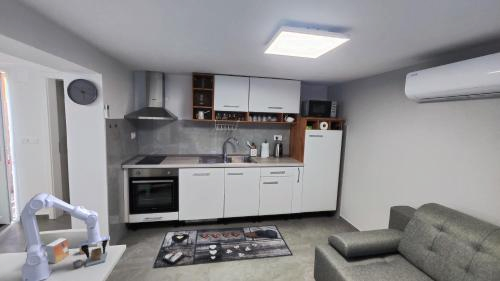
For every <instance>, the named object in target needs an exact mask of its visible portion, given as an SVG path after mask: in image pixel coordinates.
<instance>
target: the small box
mask: <svg viewBox="0 0 500 281" xmlns="http://www.w3.org/2000/svg"><path fill="white" fill-rule="evenodd" d="M45 246H46V247H47V252H46V256H47V259H48V263H52V264H57V263H59V262H60V261H62V260H63V259H64V258H66V257H68V256H70V251H69V244H68V239H67V238H64V237H59V238H58V239H56V240H53V241H52V242H50V243H49V244H47V245H45Z"/></svg>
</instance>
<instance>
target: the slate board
mask: <svg viewBox="0 0 500 281" xmlns="http://www.w3.org/2000/svg"><path fill="white" fill-rule="evenodd" d="M107 255H108V251H105V254H103V252H102V257H101V260H97V261H94V262H91V255H89V258H87V260H86V264H85V268H87V267H91V266H95V265H99V264H104V263H105V262H106V260H107V259H106V258H107Z"/></svg>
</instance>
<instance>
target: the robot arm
mask: <svg viewBox="0 0 500 281" xmlns="http://www.w3.org/2000/svg"><path fill="white" fill-rule="evenodd" d="M43 208H44V209H45V210H47V209H50V208H56V209H59V210H61V211H64V212H67V213H69V214H70V217H73V218H75V219H78V220H80V221H83V222H84V224H85V225H86V232H87V233H86V235H87V240H84V241H81V242H79V243H78V248H79V249H80V248H81V250H82V251H83V252H84V253H85V254H84V255H85V256H86V259H88V258H89V256H90V250H89V246H90V245H91V246H93V245H96V244H98V243H101V248H102V253H103V254H105V252H106V247H107V244H108V243H109V241H110V240H111V235H108V236H101V233H100V232H101V231H100V230H101V229H100V224H99V223H100V222H99V213H98V212H97V211H96V210H89V209H86V208H85V207H84V206H83V205H77V206H73V205H72V204H69V203H68V202H66V201H64V200H61V199H59V197H58V198H57V197H56V196H54V195H52V194H49V193H47V192H39V193H36V194H35V195H34V196H33V197H32V198H30V200H28V202H27V203H25V205H24V207H23V209H22V210H21V212H20V214H19V215H20V220H21V223H22V228H23V229H22V230H23V233H24V236H25V241H26V245H27V246H26V247H27V249H26V258H25V263H24V264H23V266H22V268H21V276H22V281H43V280H44V281H45V280H47V279H48V278H49V277H50V275H51V274H52V272H53V268H50V267H49V266H50V265H49V262H48V257H47V247H46V245H45V242H44V241H43V240H42V238H41V234H40V229H39V225H38V220H37V215H36V213H37V212H38V211H41V210H42V209H43Z"/></svg>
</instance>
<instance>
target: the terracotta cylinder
mask: <svg viewBox="0 0 500 281" xmlns="http://www.w3.org/2000/svg"><path fill="white" fill-rule="evenodd" d="M79 255H86V254H85V253H84V252H83V251H82V250H81V247H80V248H79Z"/></svg>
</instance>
